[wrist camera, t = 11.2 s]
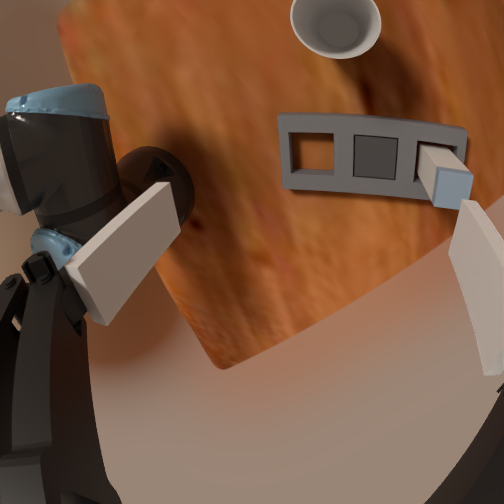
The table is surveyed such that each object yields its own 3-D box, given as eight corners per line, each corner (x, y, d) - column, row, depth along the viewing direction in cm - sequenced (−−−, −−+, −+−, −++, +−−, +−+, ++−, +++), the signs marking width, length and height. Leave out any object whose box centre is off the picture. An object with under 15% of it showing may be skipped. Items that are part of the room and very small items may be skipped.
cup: (385, 43, 27) (398, 37, 19) (329, 71, 31) (323, 73, 23) (346, -10, 24) (345, -33, 16) (291, 19, 28) (272, 6, 21)
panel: (285, 183, 42) (282, 188, 40) (280, 112, 36) (277, 115, 35) (452, 197, 35) (456, 203, 33) (462, 127, 29) (467, 131, 28)
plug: (416, 172, 35) (433, 206, 27) (419, 143, 33) (439, 170, 25) (443, 175, 34) (466, 210, 26) (447, 147, 31) (473, 175, 24)
